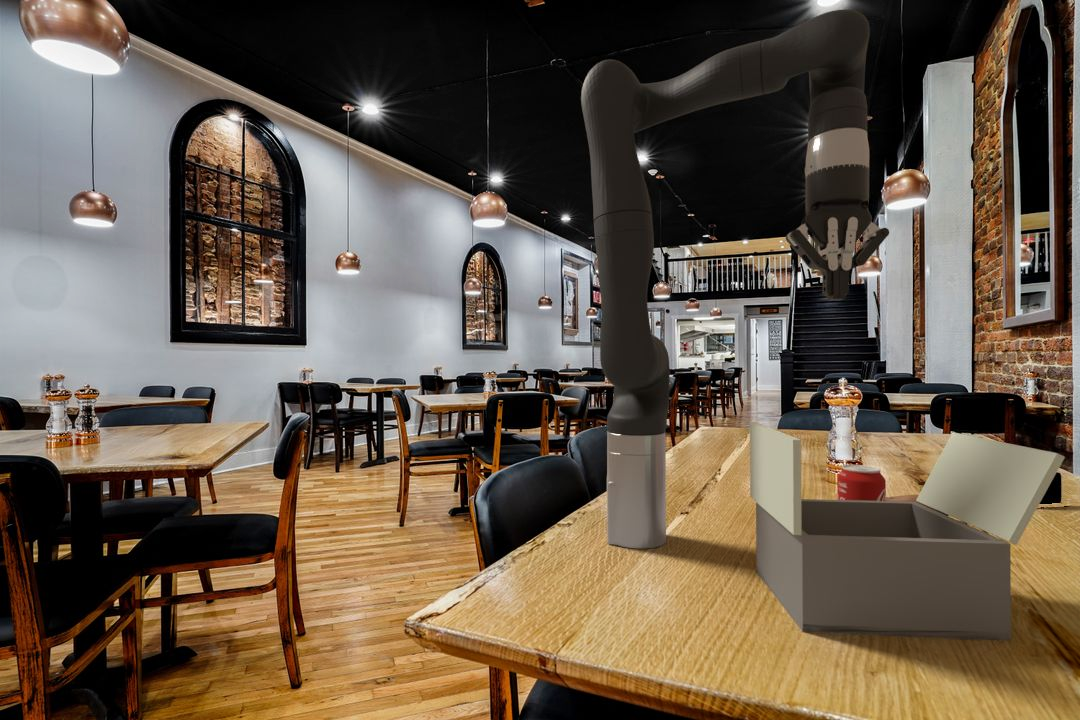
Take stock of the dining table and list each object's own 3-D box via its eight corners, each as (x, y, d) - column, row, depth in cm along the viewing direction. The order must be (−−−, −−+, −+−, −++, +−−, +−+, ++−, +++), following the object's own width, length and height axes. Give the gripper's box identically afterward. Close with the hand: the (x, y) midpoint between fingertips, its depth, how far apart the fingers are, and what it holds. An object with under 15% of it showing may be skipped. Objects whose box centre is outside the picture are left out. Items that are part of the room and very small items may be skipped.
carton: (794, 633, 55) (793, 440, 55) (750, 572, 71) (749, 422, 71) (1010, 643, 53) (1009, 442, 53) (915, 578, 69) (914, 423, 69)
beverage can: (893, 554, 78) (893, 472, 78) (846, 552, 79) (846, 471, 79) (875, 540, 84) (875, 464, 84) (832, 538, 85) (831, 463, 85)
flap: (1057, 453, 53) (1065, 456, 53) (952, 432, 69) (958, 435, 68) (1008, 541, 54) (1016, 545, 53) (915, 500, 69) (921, 503, 69)
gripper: (795, 163, 69) (794, 297, 69) (904, 159, 67) (903, 296, 68) (776, 182, 76) (775, 303, 76) (874, 179, 75) (873, 302, 75)
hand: (835, 299), depth 72 cm, fingers closed
